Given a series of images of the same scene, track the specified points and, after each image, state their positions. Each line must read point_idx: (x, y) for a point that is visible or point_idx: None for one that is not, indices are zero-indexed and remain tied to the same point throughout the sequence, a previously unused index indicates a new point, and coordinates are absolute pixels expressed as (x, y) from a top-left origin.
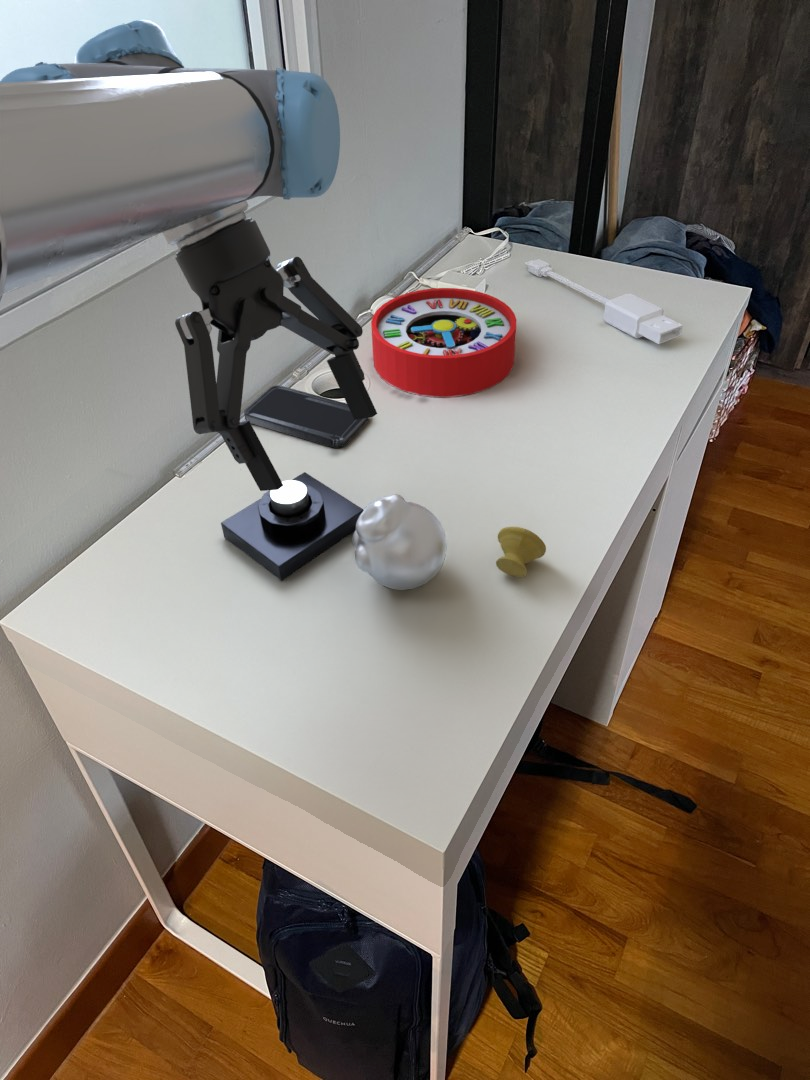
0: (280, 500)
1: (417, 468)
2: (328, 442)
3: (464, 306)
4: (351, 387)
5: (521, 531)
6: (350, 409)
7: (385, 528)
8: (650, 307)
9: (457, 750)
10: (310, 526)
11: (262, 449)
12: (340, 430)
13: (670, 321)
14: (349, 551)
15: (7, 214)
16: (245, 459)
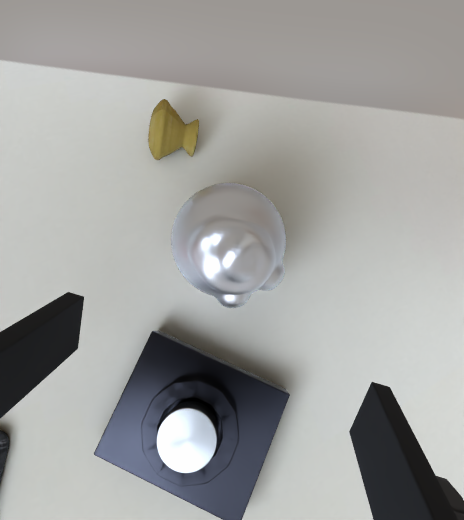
0: (210, 442)
1: (31, 306)
2: (1, 457)
3: None
4: (26, 358)
5: (165, 112)
6: (61, 361)
7: (265, 235)
8: None
9: (412, 136)
10: (214, 384)
11: (410, 460)
12: None
13: None
14: (209, 330)
15: None
16: (454, 491)
